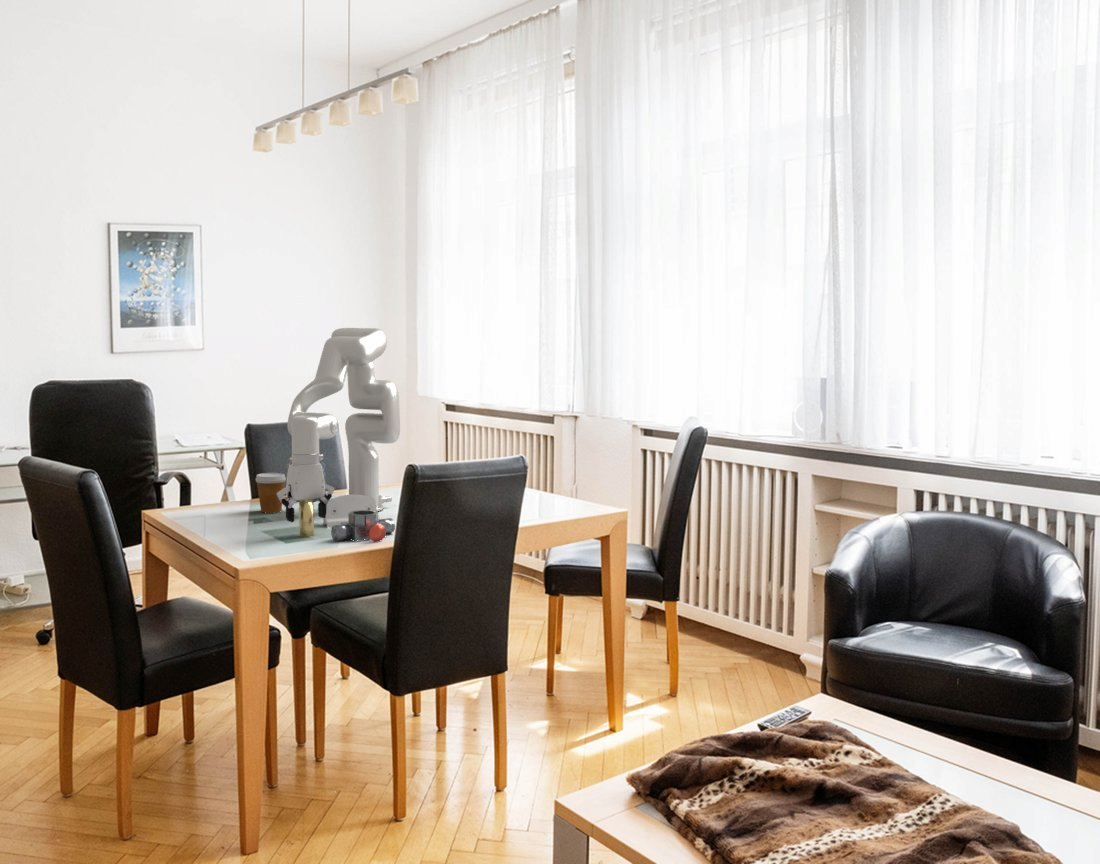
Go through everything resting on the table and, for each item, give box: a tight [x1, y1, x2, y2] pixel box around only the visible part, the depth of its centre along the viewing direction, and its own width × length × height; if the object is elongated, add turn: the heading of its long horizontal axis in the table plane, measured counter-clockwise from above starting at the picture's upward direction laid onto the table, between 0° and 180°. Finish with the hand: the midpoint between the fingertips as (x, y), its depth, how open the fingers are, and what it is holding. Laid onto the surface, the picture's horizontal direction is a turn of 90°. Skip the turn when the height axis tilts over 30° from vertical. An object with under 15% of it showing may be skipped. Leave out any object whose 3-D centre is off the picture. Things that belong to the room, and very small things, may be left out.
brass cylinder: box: [298, 499, 315, 538], centre depth 280 cm, size 4×4×12 cm
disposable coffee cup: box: [254, 472, 287, 514], centre depth 315 cm, size 10×10×12 cm
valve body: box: [330, 510, 396, 542], centre depth 278 cm, size 18×12×7 cm, turn 131°
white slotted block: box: [323, 494, 381, 528], centre depth 298 cm, size 17×5×10 cm, turn 115°
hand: (306, 519), depth 280 cm, fingers open, 9 cm apart
